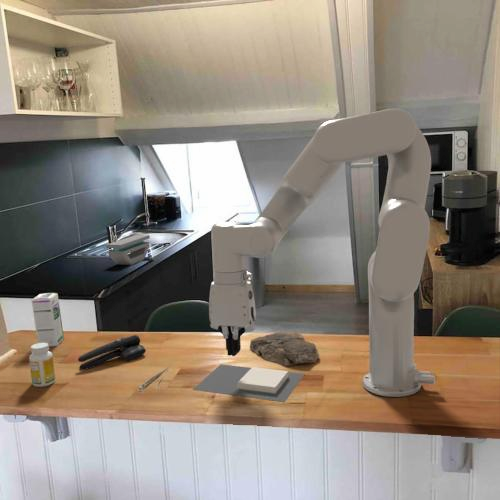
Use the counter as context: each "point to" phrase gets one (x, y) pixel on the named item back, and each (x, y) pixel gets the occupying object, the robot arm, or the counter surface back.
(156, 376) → the old metal nails
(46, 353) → the supplement bottle
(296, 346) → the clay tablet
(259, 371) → the tile
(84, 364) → the can opener
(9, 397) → the counter surface
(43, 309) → the syrup box
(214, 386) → the mat
